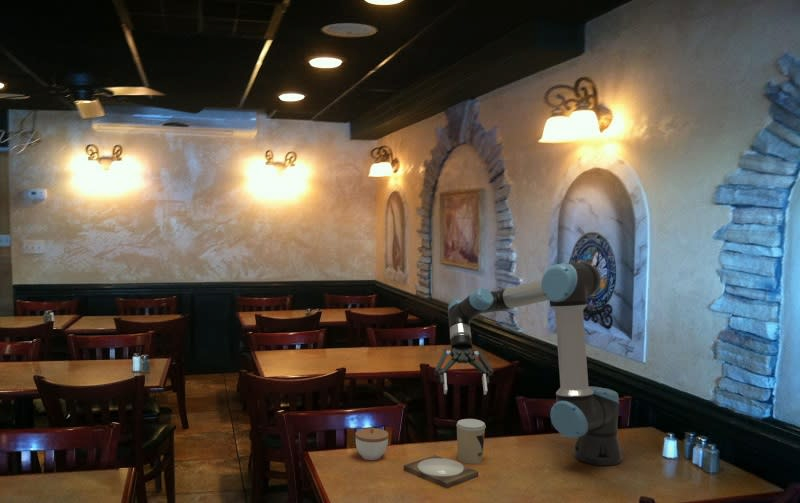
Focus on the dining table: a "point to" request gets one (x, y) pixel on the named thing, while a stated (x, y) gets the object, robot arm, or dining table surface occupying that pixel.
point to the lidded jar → (371, 443)
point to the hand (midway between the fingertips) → (465, 392)
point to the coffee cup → (470, 440)
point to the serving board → (441, 471)
